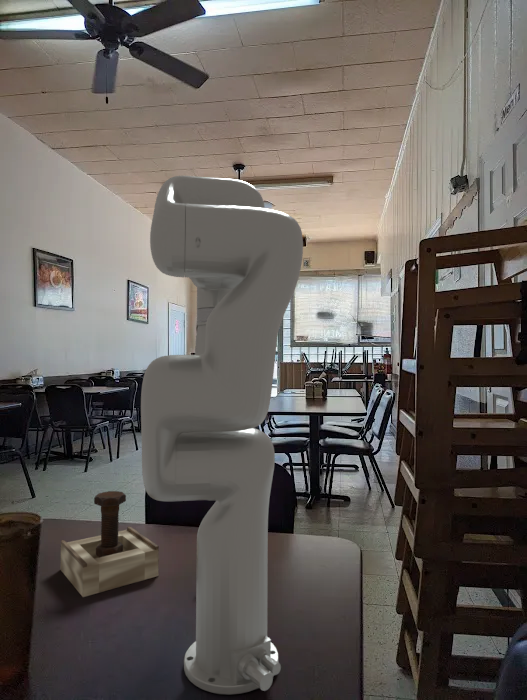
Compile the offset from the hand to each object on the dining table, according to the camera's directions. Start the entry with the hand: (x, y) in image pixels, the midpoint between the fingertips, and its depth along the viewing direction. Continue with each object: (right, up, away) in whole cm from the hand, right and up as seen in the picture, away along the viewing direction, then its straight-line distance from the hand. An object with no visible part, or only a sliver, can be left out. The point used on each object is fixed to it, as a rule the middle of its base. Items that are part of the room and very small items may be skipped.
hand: (214, 402), depth 99 cm
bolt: (-20, -32, -6) cm, 38 cm away
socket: (-20, -32, -6) cm, 38 cm away
